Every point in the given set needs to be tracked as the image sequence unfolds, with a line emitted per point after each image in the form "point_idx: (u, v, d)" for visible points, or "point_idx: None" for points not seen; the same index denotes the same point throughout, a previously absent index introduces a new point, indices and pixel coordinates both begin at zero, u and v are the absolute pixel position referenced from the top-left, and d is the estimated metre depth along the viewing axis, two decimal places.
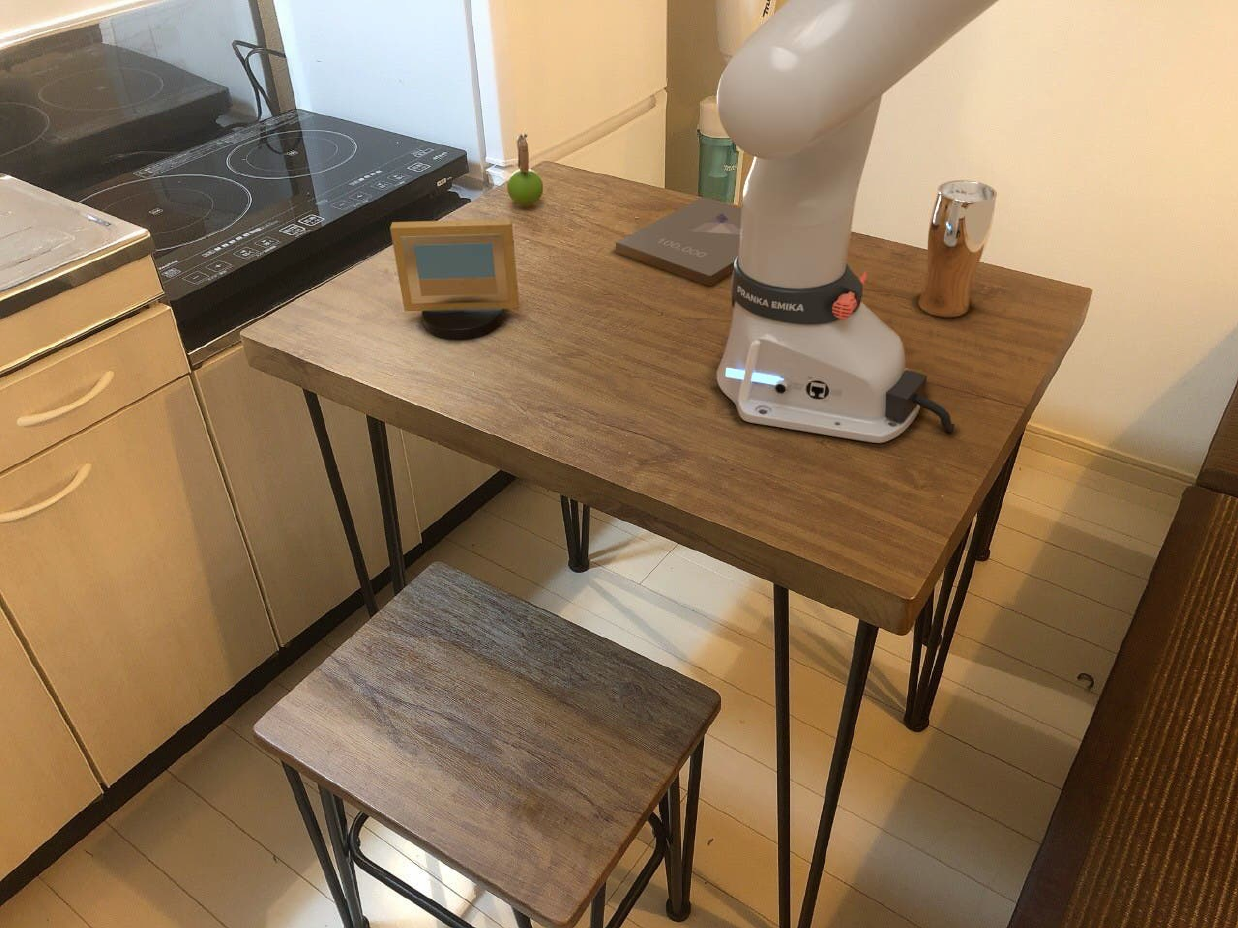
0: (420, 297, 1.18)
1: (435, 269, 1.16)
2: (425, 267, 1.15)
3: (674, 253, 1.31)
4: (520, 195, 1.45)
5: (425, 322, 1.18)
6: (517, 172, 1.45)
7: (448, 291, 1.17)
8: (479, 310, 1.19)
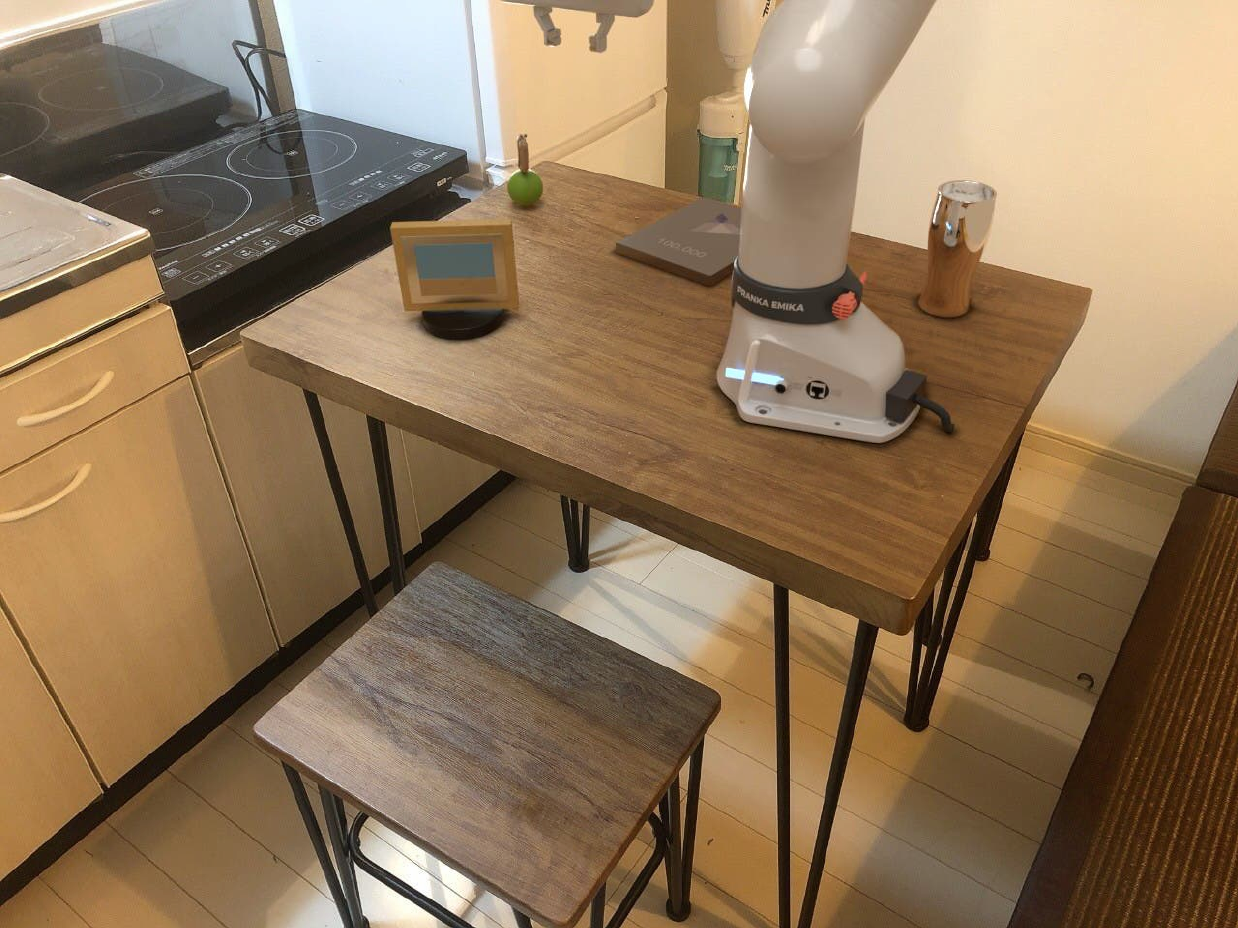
0: (420, 297, 1.18)
1: (435, 269, 1.16)
2: (425, 267, 1.15)
3: (674, 253, 1.31)
4: (520, 195, 1.45)
5: (425, 322, 1.18)
6: (517, 172, 1.45)
7: (448, 291, 1.17)
8: (479, 310, 1.19)
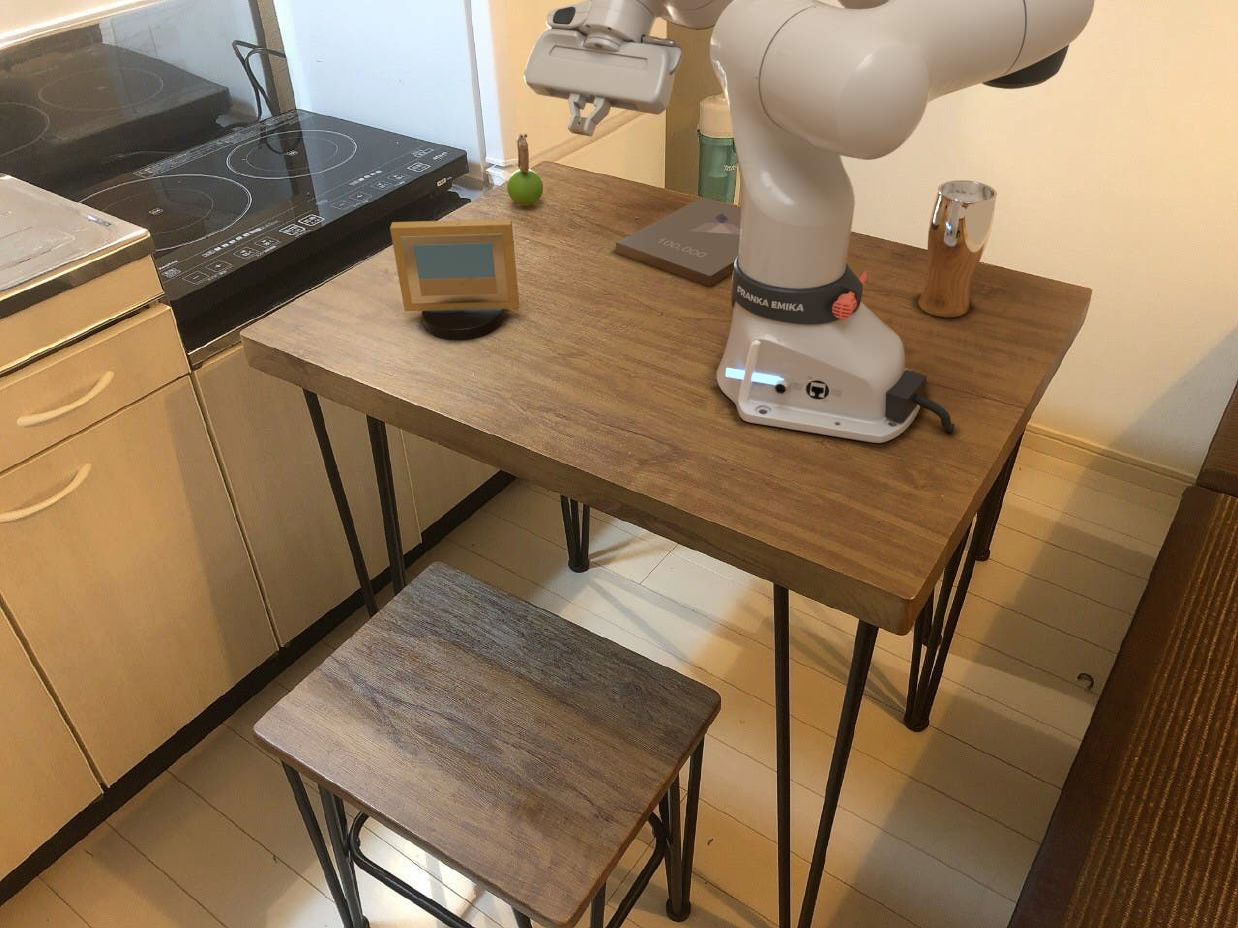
0: (420, 297, 1.18)
1: (435, 269, 1.16)
2: (425, 267, 1.15)
3: (674, 253, 1.31)
4: (520, 195, 1.45)
5: (425, 322, 1.18)
6: (517, 172, 1.45)
7: (448, 291, 1.17)
8: (479, 310, 1.19)
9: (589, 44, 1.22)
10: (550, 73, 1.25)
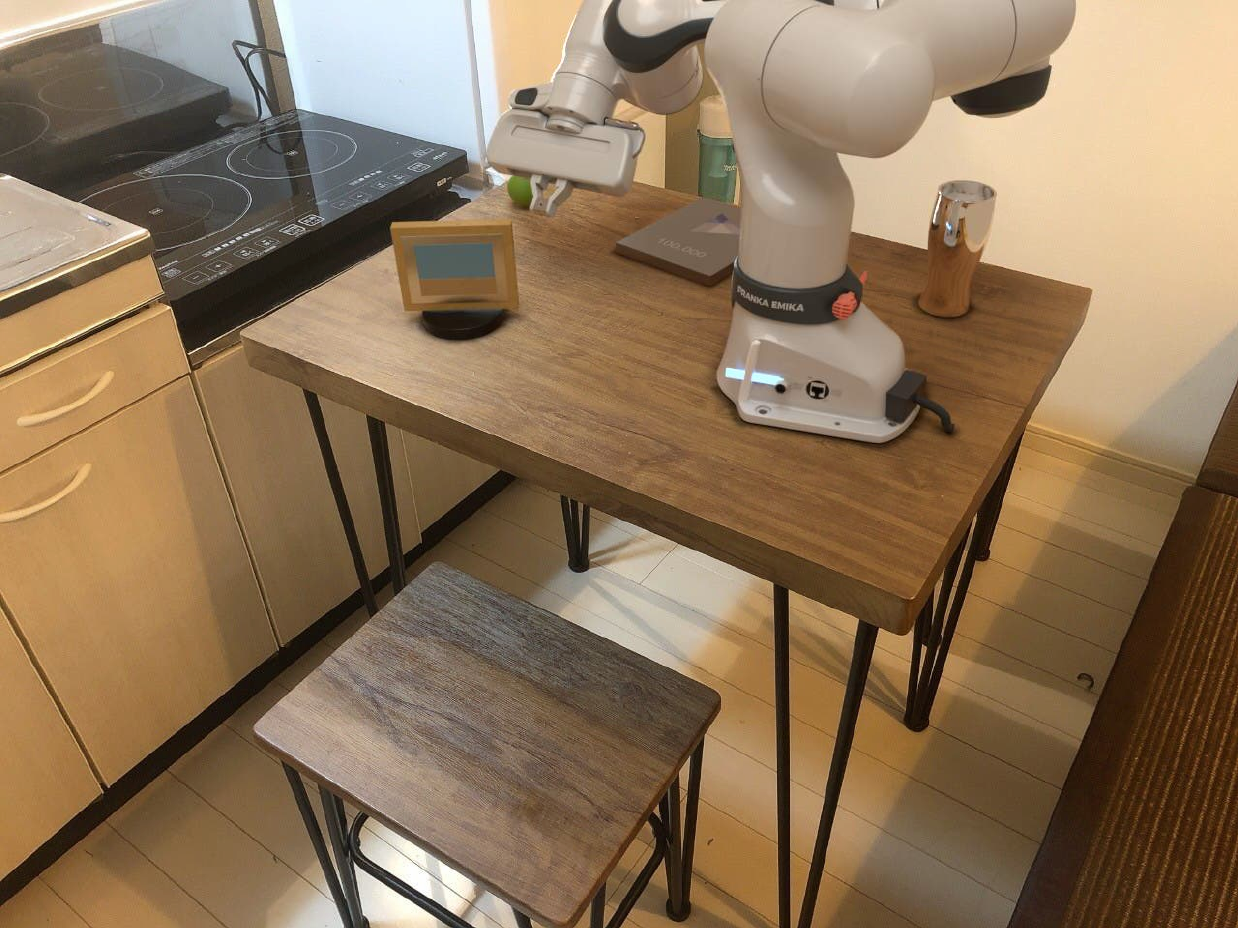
0: (420, 297, 1.18)
1: (435, 269, 1.16)
2: (425, 267, 1.15)
3: (674, 253, 1.31)
4: (520, 195, 1.45)
5: (425, 322, 1.18)
6: None
7: (448, 291, 1.17)
8: (479, 310, 1.19)
9: (551, 126, 1.21)
10: (512, 153, 1.23)
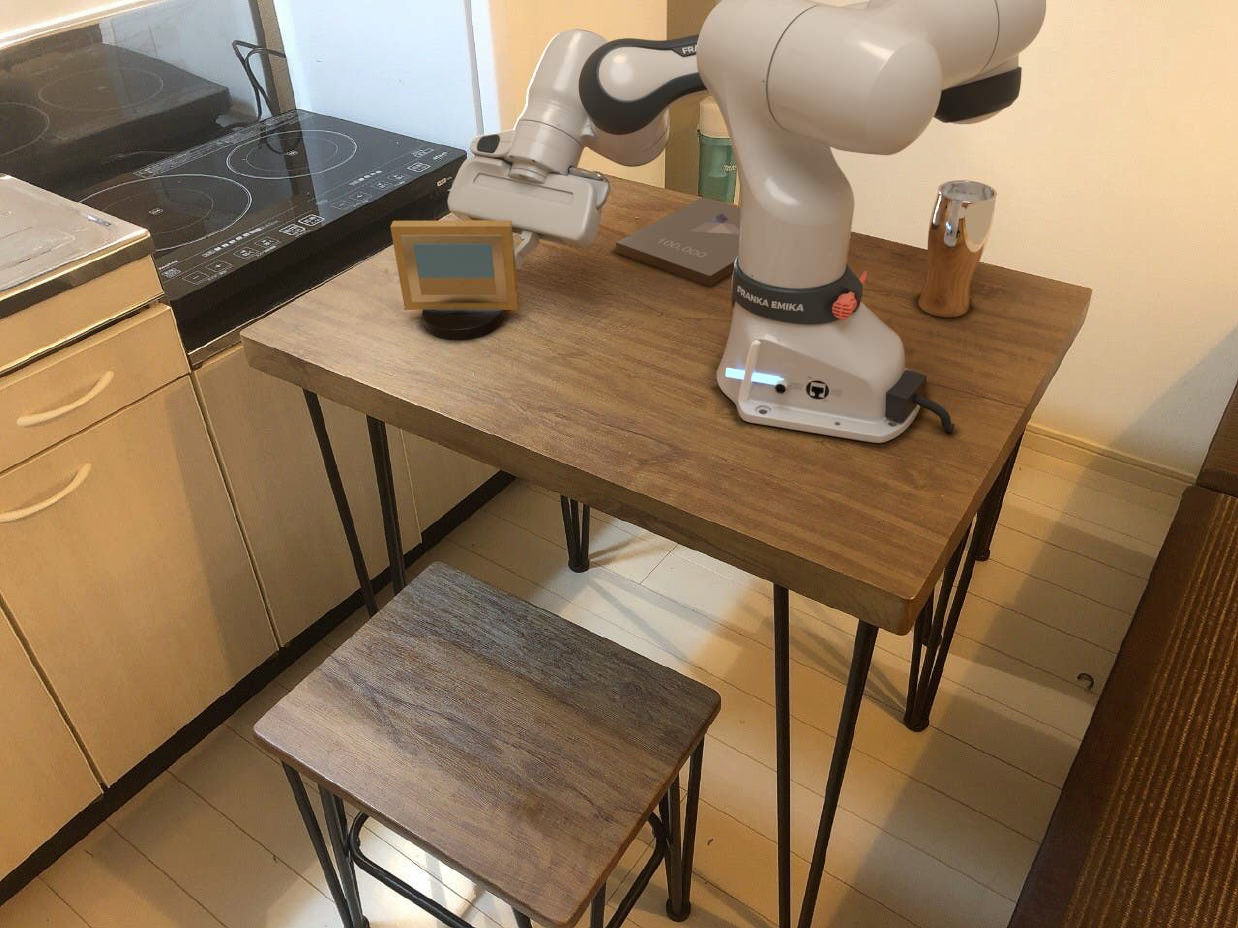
0: (420, 296, 1.18)
1: (435, 269, 1.16)
2: (425, 266, 1.15)
3: (674, 253, 1.31)
4: None
5: (425, 322, 1.18)
6: None
7: (448, 291, 1.17)
8: (479, 310, 1.19)
9: (514, 174, 1.17)
10: (474, 202, 1.19)
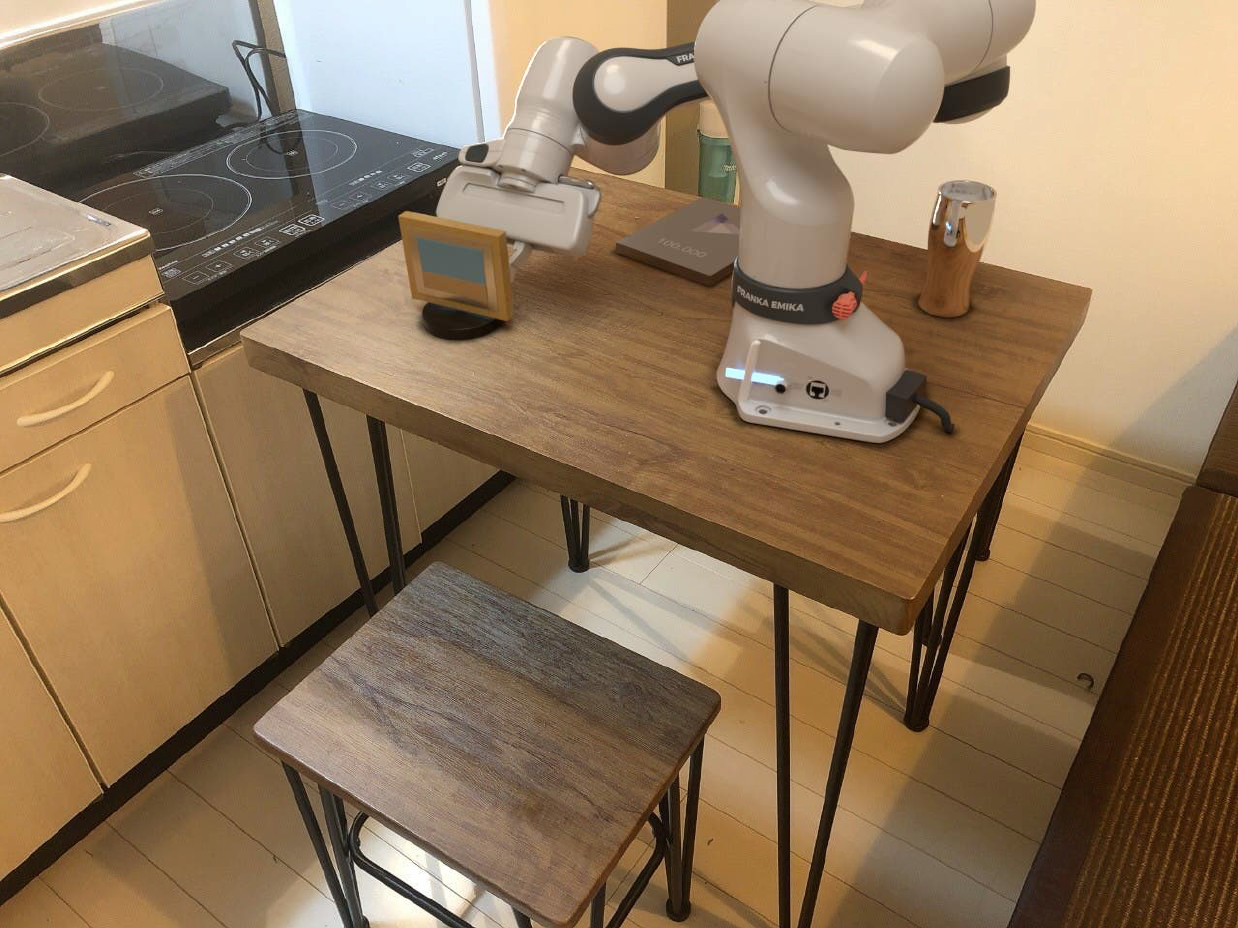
0: (424, 288, 1.20)
1: (436, 265, 1.16)
2: (427, 260, 1.17)
3: (674, 253, 1.31)
4: None
5: (425, 322, 1.18)
6: None
7: (447, 288, 1.18)
8: None
9: (503, 184, 1.15)
10: (463, 212, 1.17)
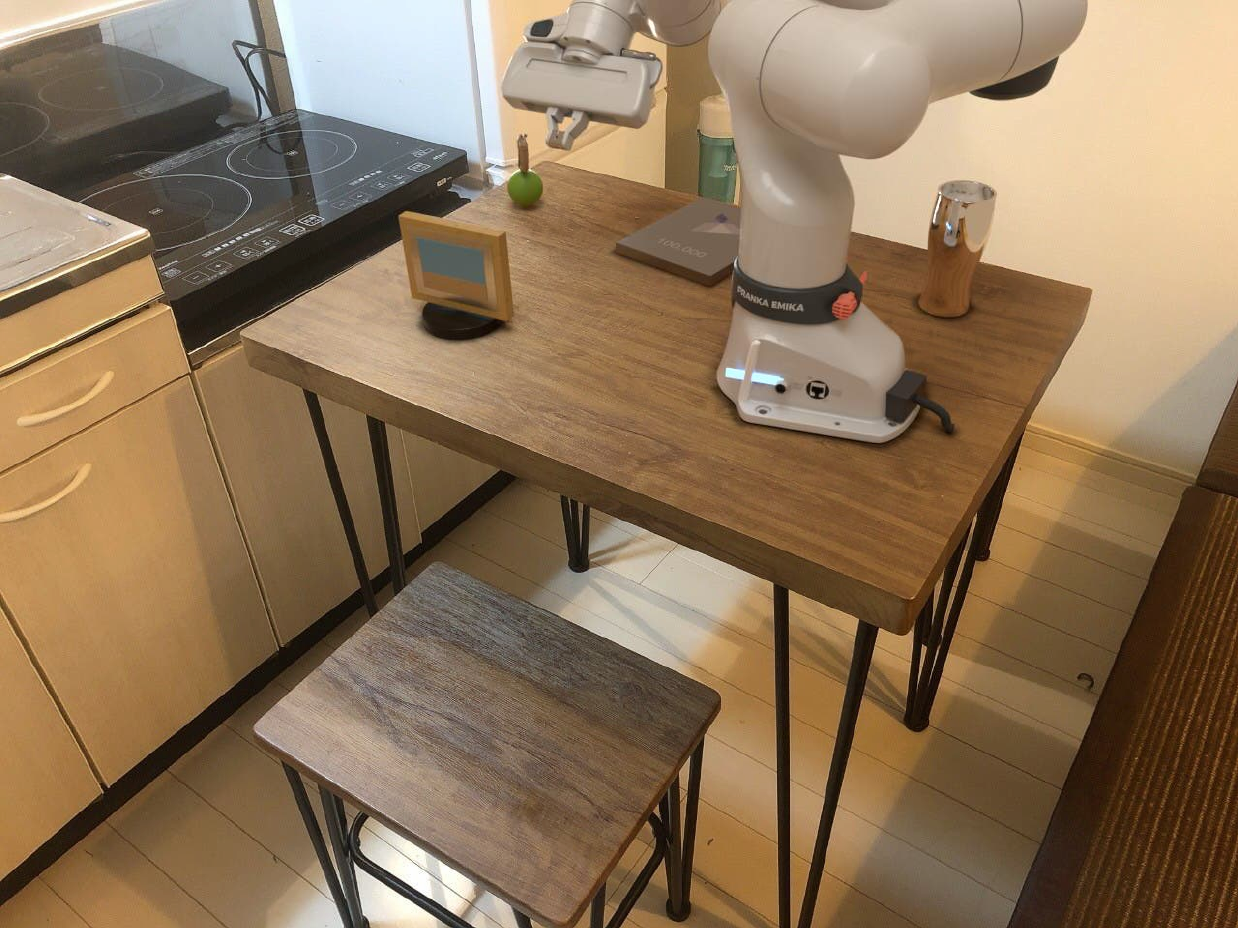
0: (424, 288, 1.20)
1: (436, 265, 1.16)
2: (427, 260, 1.17)
3: (674, 253, 1.31)
4: (520, 195, 1.45)
5: (425, 322, 1.18)
6: (517, 172, 1.45)
7: (447, 288, 1.18)
8: None
9: (567, 57, 1.20)
10: (527, 86, 1.22)
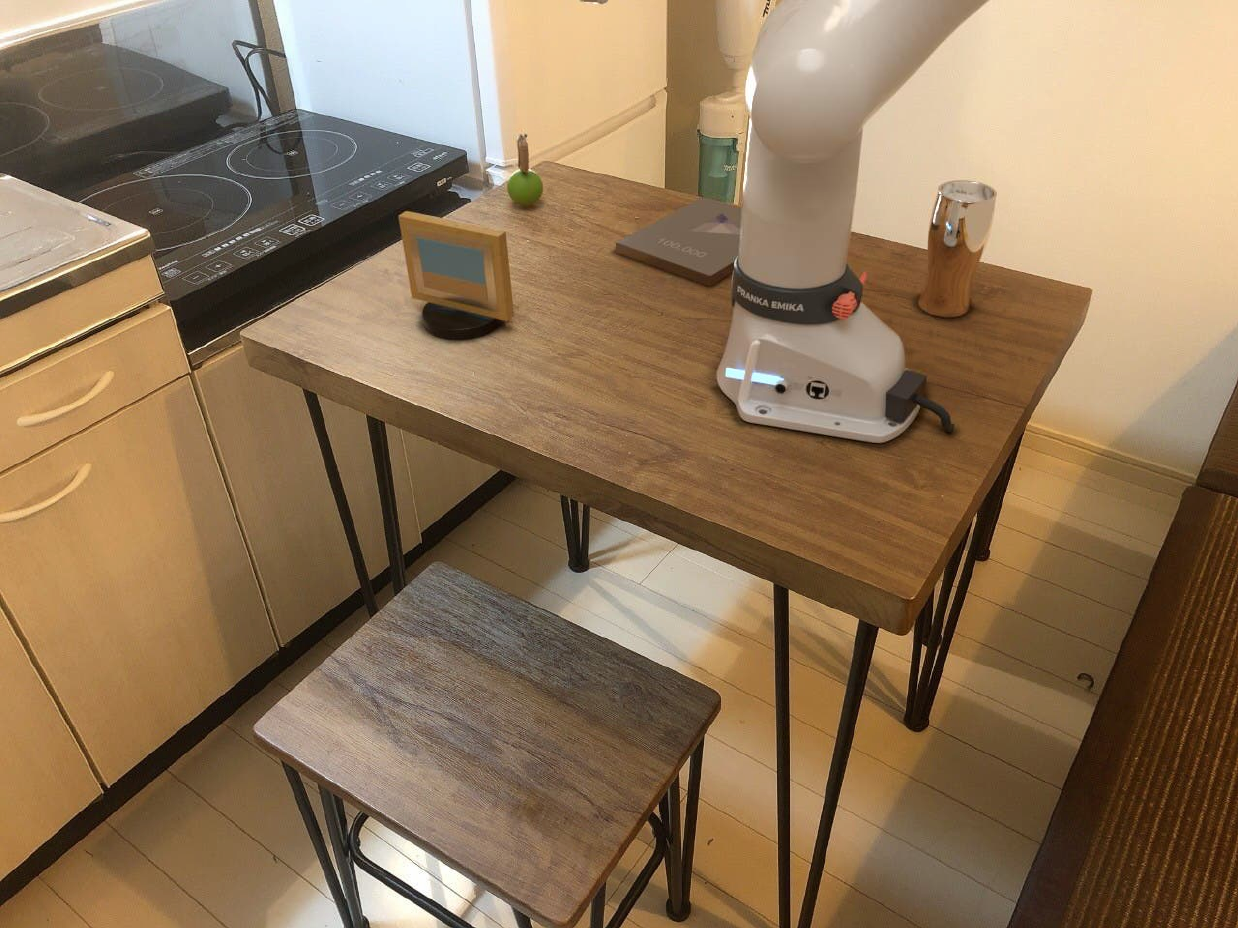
0: (424, 288, 1.20)
1: (436, 265, 1.16)
2: (427, 260, 1.17)
3: (674, 253, 1.31)
4: (520, 195, 1.45)
5: (425, 322, 1.18)
6: (517, 172, 1.45)
7: (447, 288, 1.18)
8: None
9: None
10: None
